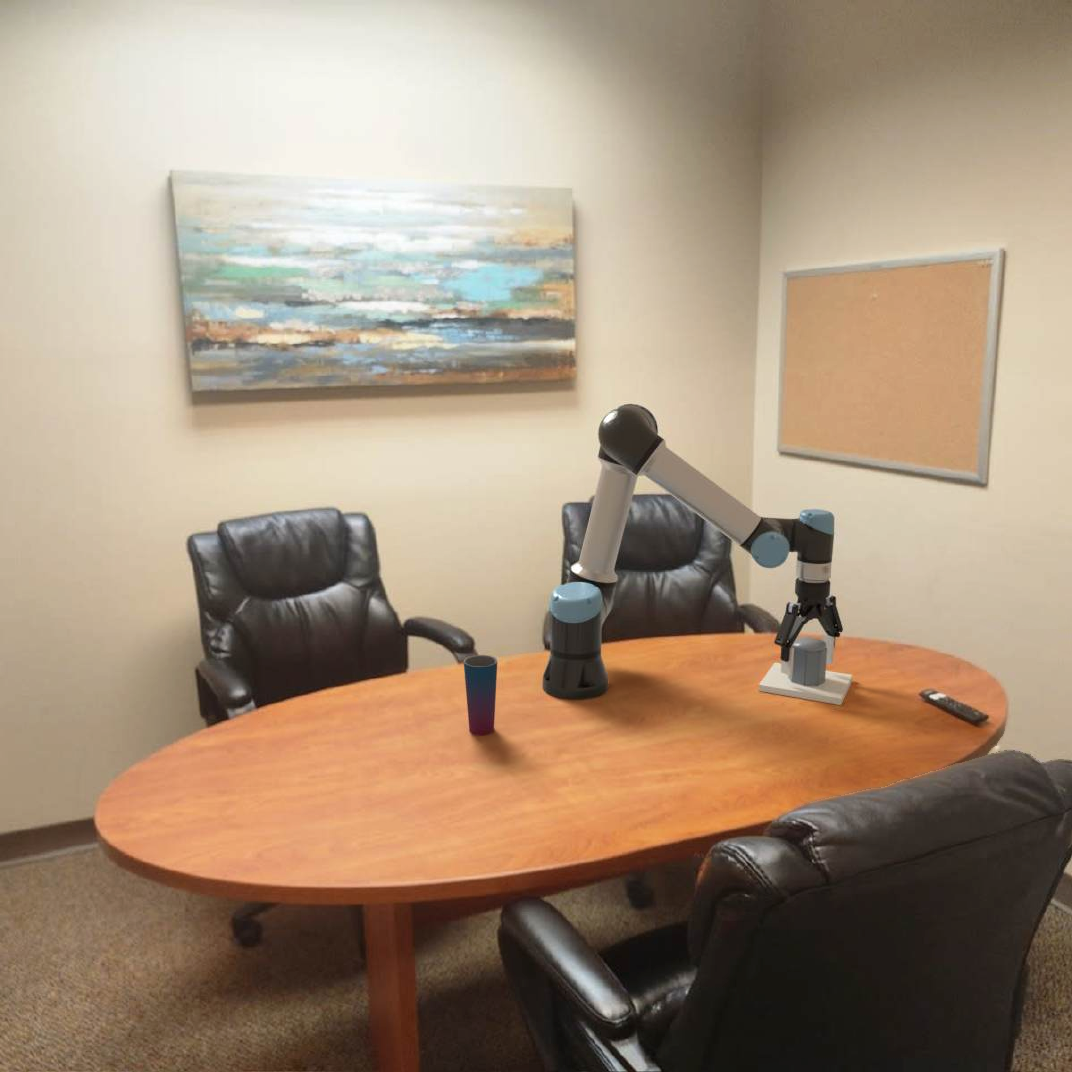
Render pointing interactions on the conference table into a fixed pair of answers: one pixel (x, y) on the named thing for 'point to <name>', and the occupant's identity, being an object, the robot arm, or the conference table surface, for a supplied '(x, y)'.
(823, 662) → the cap
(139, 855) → the conference table surface
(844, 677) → the stud board
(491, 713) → the cup
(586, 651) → the robot arm
